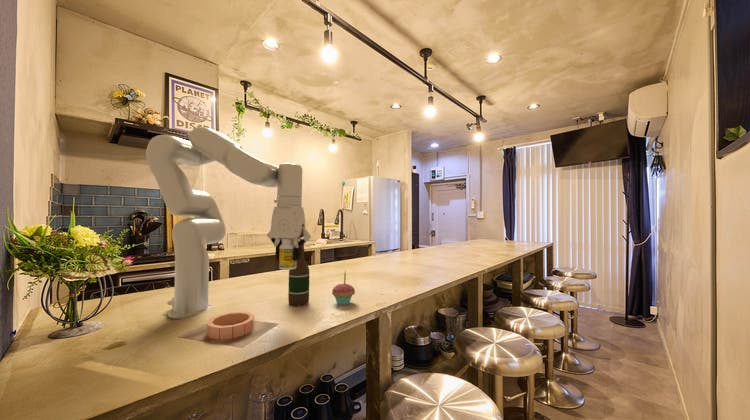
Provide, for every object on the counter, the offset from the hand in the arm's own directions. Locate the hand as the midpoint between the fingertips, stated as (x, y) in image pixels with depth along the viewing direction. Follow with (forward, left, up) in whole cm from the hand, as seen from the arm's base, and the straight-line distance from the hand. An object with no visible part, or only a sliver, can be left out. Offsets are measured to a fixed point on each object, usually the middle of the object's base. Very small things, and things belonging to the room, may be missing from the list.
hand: (288, 258), depth 88 cm
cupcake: (+11, +20, -19) cm, 30 cm away
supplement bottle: (0, 0, -3) cm, 3 cm away
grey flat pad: (-9, -14, -19) cm, 25 cm away
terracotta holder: (-9, -14, -18) cm, 24 cm away
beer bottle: (-5, +15, -19) cm, 25 cm away
